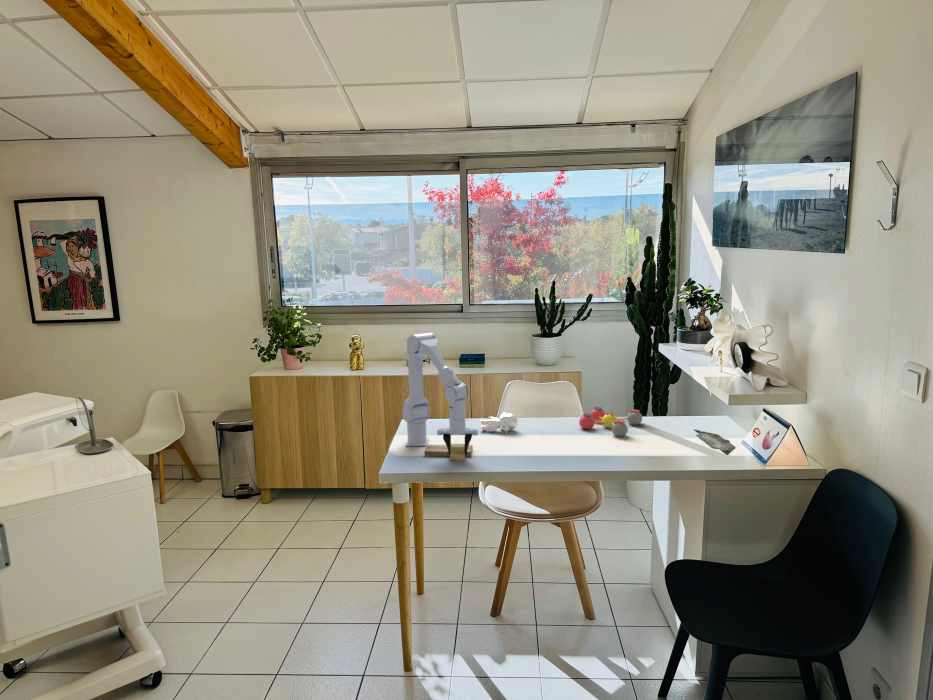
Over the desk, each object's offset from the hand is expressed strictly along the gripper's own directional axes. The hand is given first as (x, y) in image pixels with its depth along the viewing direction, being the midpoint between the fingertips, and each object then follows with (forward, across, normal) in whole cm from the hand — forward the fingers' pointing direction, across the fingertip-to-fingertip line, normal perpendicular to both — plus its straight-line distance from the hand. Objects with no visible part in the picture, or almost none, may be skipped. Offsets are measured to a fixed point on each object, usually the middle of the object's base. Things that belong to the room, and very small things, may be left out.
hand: (458, 454), depth 234 cm
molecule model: (+2, +60, +40) cm, 72 cm away
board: (+2, -4, +6) cm, 8 cm away
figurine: (+2, +14, +35) cm, 38 cm away
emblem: (+2, +98, +22) cm, 100 cm away
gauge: (+2, 0, +1) cm, 2 cm away
